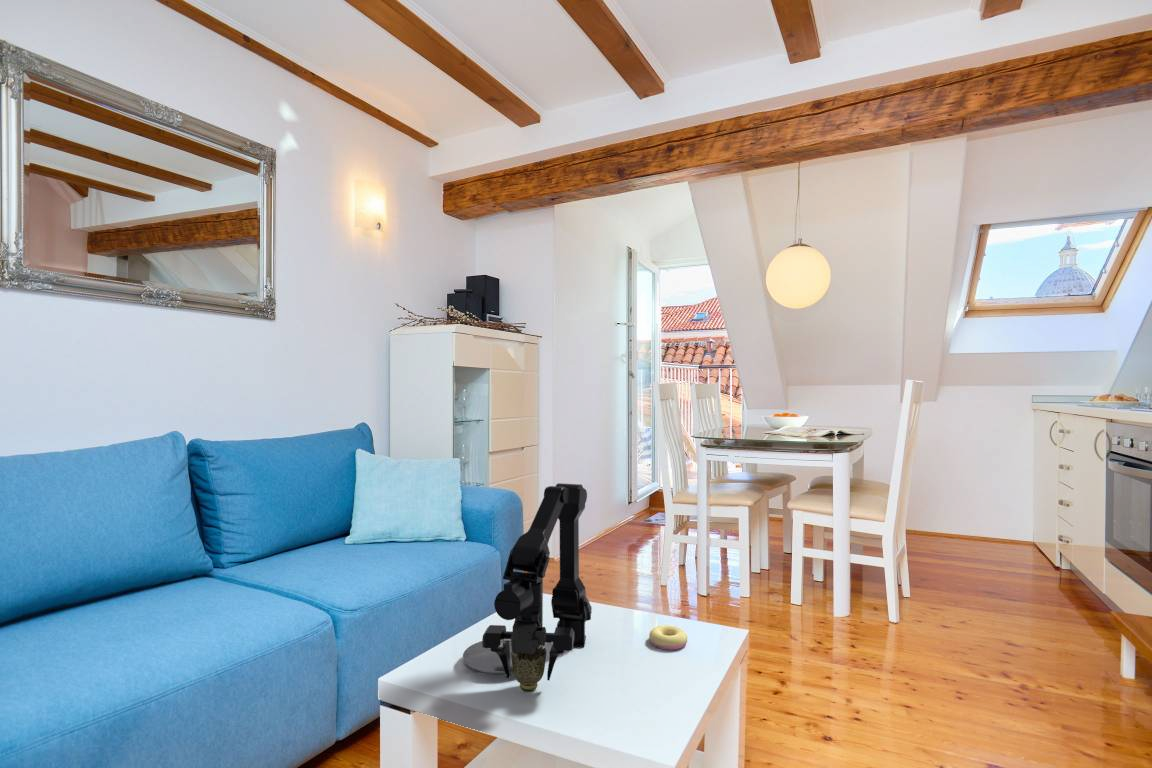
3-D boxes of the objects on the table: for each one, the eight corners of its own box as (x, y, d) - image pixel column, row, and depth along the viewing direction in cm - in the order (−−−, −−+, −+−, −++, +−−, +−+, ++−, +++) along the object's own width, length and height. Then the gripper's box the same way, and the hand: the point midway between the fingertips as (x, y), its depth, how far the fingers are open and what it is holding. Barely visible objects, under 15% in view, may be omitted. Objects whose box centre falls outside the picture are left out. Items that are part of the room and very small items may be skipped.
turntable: (556, 651, 141) (556, 632, 141) (509, 682, 126) (509, 661, 126) (496, 635, 151) (496, 618, 151) (446, 662, 135) (446, 642, 135)
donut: (653, 660, 145) (691, 654, 145) (651, 642, 145) (689, 637, 145) (648, 637, 155) (684, 632, 155) (646, 620, 155) (681, 615, 155)
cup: (541, 699, 121) (541, 659, 121) (506, 696, 123) (506, 656, 123) (550, 682, 129) (550, 644, 129) (517, 679, 130) (517, 642, 130)
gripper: (476, 616, 119) (475, 695, 118) (569, 619, 117) (569, 699, 117) (488, 597, 130) (488, 670, 129) (574, 600, 128) (574, 673, 128)
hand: (528, 678), depth 126 cm, fingers open, 8 cm apart
